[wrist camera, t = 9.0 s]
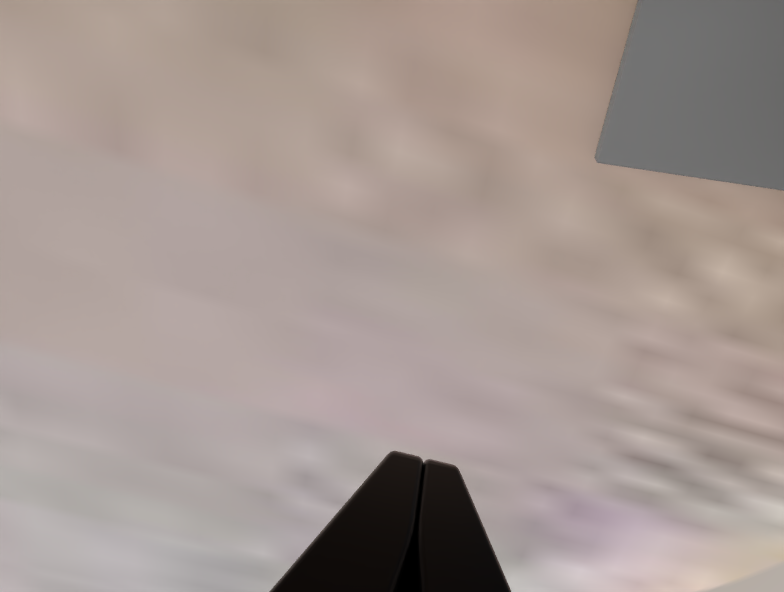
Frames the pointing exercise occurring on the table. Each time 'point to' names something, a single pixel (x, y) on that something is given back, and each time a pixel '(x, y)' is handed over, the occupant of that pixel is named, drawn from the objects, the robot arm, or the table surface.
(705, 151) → the rubber mat
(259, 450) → the table surface
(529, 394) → the table surface
